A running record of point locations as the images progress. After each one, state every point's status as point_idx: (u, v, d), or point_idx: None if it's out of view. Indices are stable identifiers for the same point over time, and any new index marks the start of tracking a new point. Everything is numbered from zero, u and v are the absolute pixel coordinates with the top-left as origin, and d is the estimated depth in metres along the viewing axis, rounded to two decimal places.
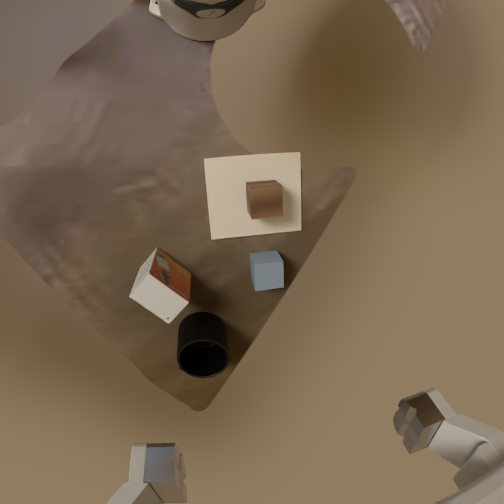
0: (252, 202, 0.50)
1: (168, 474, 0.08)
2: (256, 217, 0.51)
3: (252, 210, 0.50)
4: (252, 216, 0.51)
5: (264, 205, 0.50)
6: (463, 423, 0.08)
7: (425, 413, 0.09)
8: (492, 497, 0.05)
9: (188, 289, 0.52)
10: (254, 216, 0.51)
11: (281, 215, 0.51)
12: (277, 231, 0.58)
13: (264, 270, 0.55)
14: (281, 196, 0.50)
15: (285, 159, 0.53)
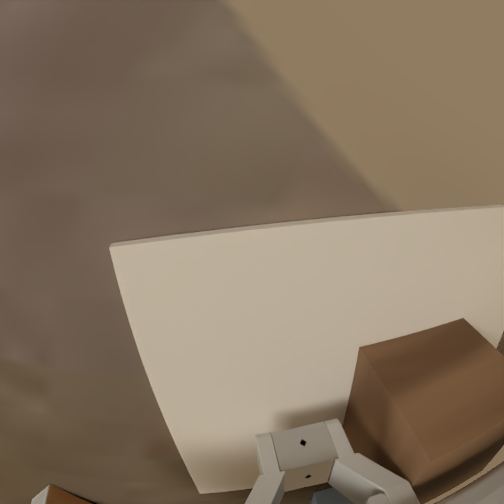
0: None
1: (303, 458, 0.08)
2: None
3: None
4: None
5: (451, 477, 0.07)
6: (360, 465, 0.08)
7: (315, 448, 0.08)
8: (492, 497, 0.05)
9: None
10: None
11: (479, 471, 0.08)
12: None
13: None
14: None
15: (503, 235, 0.10)
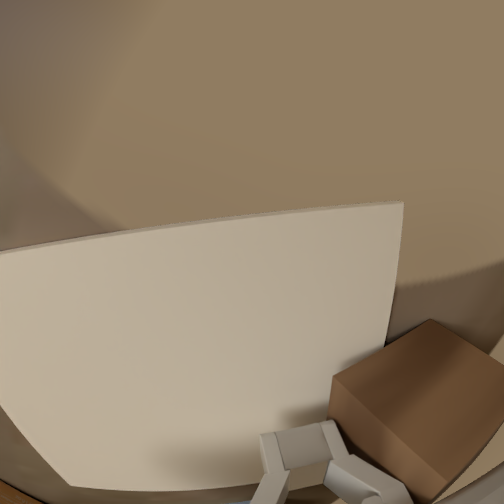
0: None
1: (307, 457, 0.08)
2: None
3: None
4: None
5: (454, 479, 0.07)
6: (355, 467, 0.08)
7: (310, 449, 0.08)
8: (492, 497, 0.05)
9: None
10: None
11: (473, 461, 0.09)
12: None
13: None
14: None
15: (324, 251, 0.09)
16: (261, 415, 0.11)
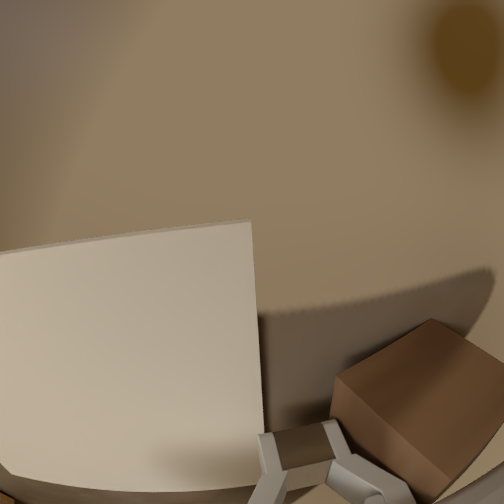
0: None
1: (305, 457, 0.08)
2: None
3: None
4: None
5: (456, 478, 0.07)
6: (357, 466, 0.08)
7: (312, 448, 0.08)
8: (492, 497, 0.05)
9: None
10: None
11: None
12: (183, 489, 0.13)
13: None
14: None
15: (157, 276, 0.08)
16: (144, 428, 0.11)
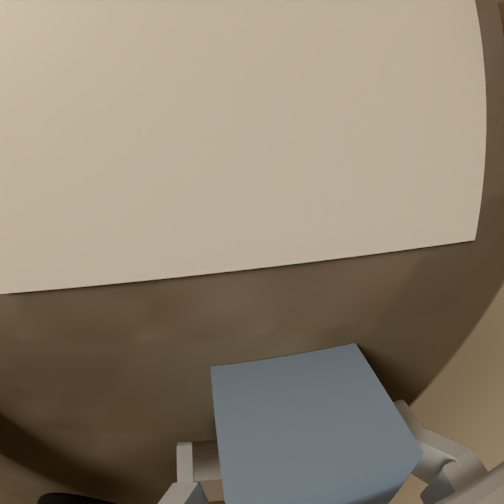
0: None
1: (218, 471, 0.08)
2: None
3: None
4: None
5: None
6: (430, 439, 0.08)
7: None
8: (492, 497, 0.05)
9: None
10: None
11: None
12: (375, 245, 0.09)
13: None
14: None
15: None
16: (367, 29, 0.06)
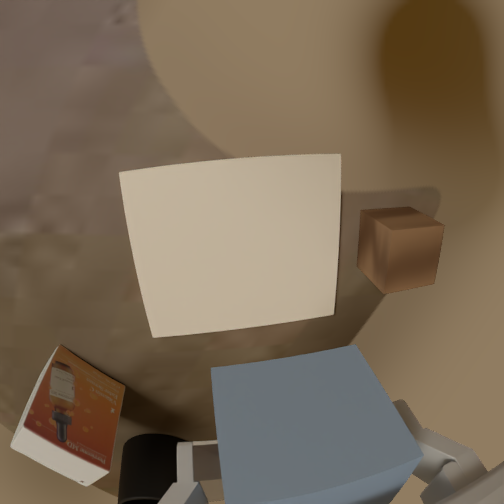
0: (391, 260, 0.22)
1: (218, 471, 0.08)
2: (392, 289, 0.23)
3: (388, 276, 0.22)
4: (386, 288, 0.22)
5: (411, 265, 0.22)
6: (430, 439, 0.08)
7: None
8: (492, 497, 0.05)
9: (113, 436, 0.22)
10: (389, 288, 0.22)
11: (432, 282, 0.23)
12: (286, 319, 0.28)
13: None
14: (439, 246, 0.22)
15: (309, 170, 0.23)
16: (283, 256, 0.25)
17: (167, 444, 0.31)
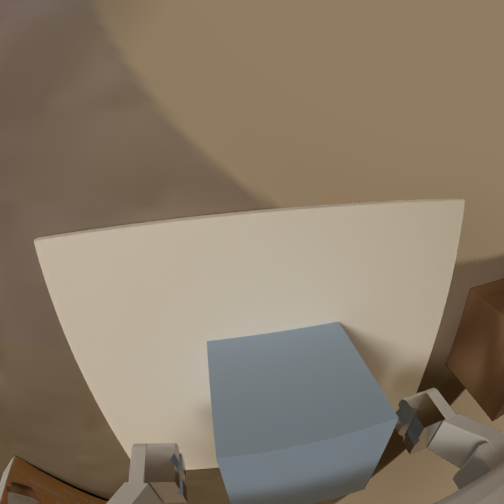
0: None
1: (168, 474, 0.08)
2: (503, 412, 0.11)
3: None
4: (497, 413, 0.11)
5: None
6: (463, 422, 0.08)
7: (425, 413, 0.09)
8: (492, 497, 0.05)
9: None
10: (501, 412, 0.11)
11: None
12: None
13: (284, 470, 0.08)
14: None
15: (415, 232, 0.11)
16: None
17: None
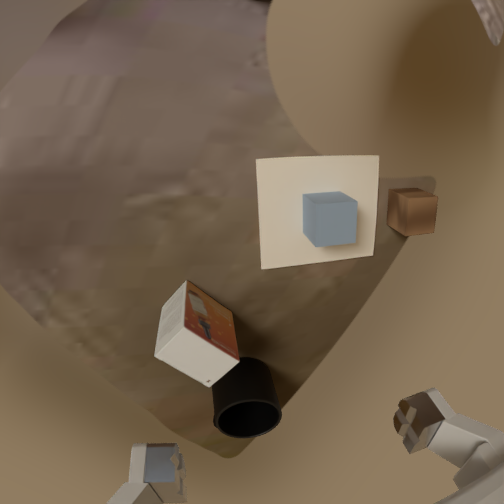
0: (408, 215, 0.37)
1: (168, 474, 0.08)
2: (409, 233, 0.38)
3: (407, 225, 0.38)
4: (406, 232, 0.38)
5: (419, 219, 0.38)
6: (463, 422, 0.08)
7: (425, 413, 0.09)
8: (492, 497, 0.05)
9: (235, 340, 0.38)
10: (408, 232, 0.38)
11: (432, 231, 0.39)
12: (345, 257, 0.43)
13: (330, 214, 0.35)
14: (435, 209, 0.37)
15: (361, 164, 0.38)
16: None
17: (253, 363, 0.47)
